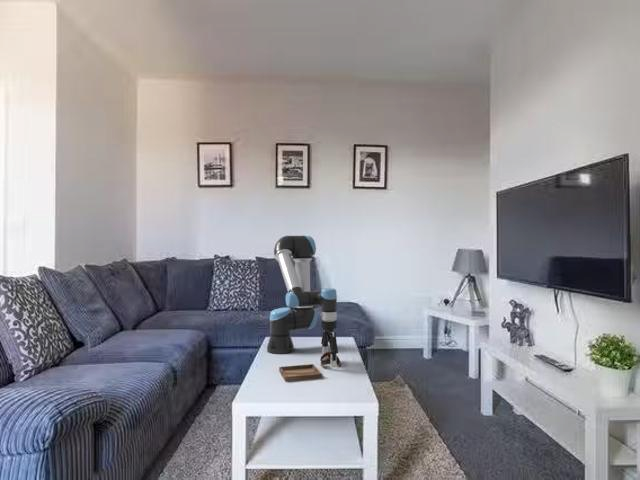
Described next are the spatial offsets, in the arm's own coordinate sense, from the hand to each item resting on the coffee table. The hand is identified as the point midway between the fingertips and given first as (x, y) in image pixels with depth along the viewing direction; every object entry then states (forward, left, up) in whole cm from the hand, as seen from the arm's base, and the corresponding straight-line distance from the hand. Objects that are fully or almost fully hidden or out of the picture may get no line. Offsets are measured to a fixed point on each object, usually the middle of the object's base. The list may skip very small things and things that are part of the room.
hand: (329, 363), depth 205 cm
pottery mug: (0, +1, -2) cm, 2 cm away
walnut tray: (+9, -17, -1) cm, 19 cm away
